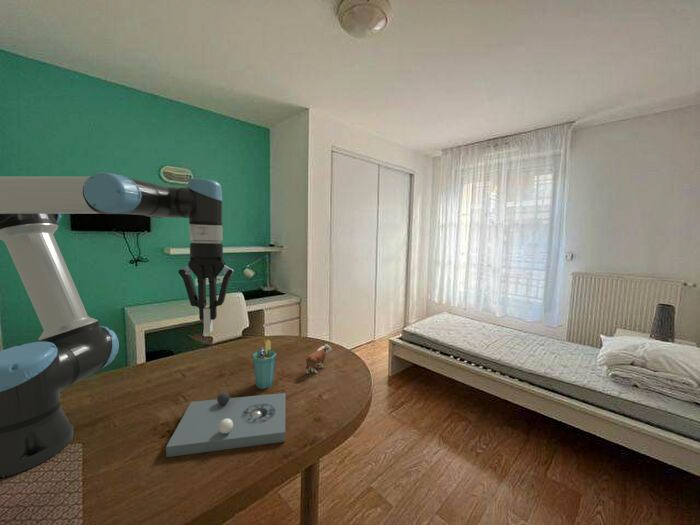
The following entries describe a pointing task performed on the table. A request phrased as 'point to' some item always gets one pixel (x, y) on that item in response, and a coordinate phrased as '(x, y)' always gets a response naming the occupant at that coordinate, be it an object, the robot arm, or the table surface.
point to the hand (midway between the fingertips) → (208, 331)
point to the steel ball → (256, 414)
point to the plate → (205, 416)
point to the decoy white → (225, 426)
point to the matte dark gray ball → (223, 398)
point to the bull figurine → (317, 358)
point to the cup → (264, 366)
